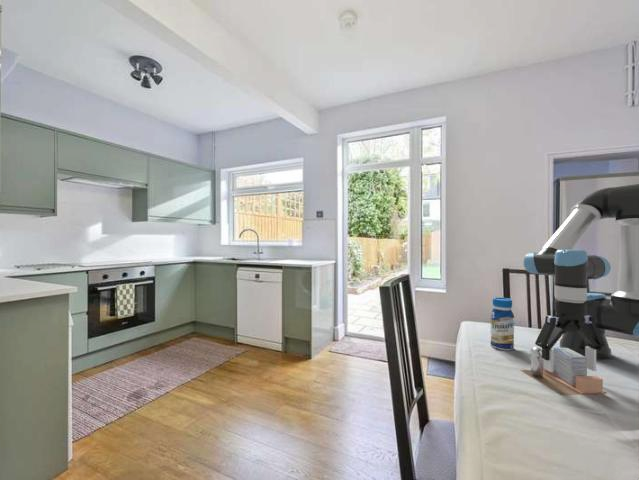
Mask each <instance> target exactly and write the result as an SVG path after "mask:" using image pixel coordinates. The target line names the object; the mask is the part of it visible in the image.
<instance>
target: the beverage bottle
mask: <svg viewBox="0 0 639 480" xmlns="http://www.w3.org/2000/svg"><path fill="white" fill-rule="evenodd" d="M492 306H493V308H492V310H491V311H490V316H491V317H490V320H489V321H490V346H491V347H492V348H494V349H496V348H497V350H500V351H512V350H514V349H515V346H514V345H515V324H516V323H515V321H514V319H515V315H514V313H513V311H512V308H513V300H512V299H511V298H507V297H500V296H498V297H493V298H492Z"/></svg>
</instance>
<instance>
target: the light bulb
mask: <svg viewBox="0 0 639 480" xmlns="http://www.w3.org/2000/svg"><path fill="white" fill-rule="evenodd" d="M529 353H530V356H531V357H530V359H531V360H530V361H531V362H530V364H531V365H530V367H531V368H530V370H531V375H532V376H534V377H537V378H543V358H542V348H541V347H539V346H534V347H532V348H531V349H530V351H529Z"/></svg>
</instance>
